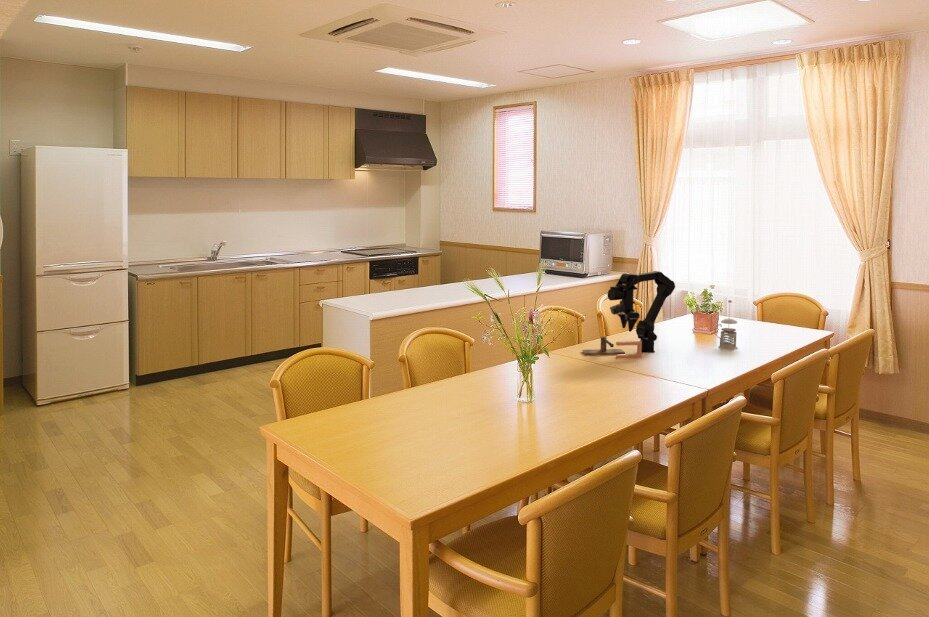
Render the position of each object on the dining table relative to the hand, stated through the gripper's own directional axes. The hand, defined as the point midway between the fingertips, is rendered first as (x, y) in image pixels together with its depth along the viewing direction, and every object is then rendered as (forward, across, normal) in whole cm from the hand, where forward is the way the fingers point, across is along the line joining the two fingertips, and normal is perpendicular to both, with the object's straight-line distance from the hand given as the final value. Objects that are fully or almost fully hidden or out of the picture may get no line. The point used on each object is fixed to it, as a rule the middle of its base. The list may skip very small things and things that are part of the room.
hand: (626, 329), depth 352 cm
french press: (+13, -5, +56) cm, 57 cm away
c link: (+12, +8, -2) cm, 15 cm away
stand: (+12, +3, -11) cm, 17 cm away
